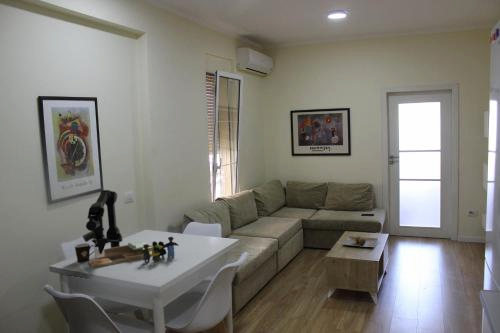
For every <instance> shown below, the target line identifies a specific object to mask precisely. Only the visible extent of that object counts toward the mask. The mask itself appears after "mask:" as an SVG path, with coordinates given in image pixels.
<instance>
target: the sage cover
mask: <svg viewBox="0 0 500 333" xmlns="http://www.w3.org/2000/svg"><path fill="white" fill-rule="evenodd" d="M136 243H137V244H135V243H133V242H130V241H129V242H127V245H128V246H129V247H130V248H132V249H134V250H136V249H141V248H143V249H144V247H143V245H145V244H148V245H149V247H148V248H151V247H153V245H152V244H150V243H148V242H146V241H143V242H142V243H141V242H136Z"/></svg>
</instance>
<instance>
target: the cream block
mask: <svg viewBox="0 0 500 333" xmlns="http://www.w3.org/2000/svg"><path fill="white" fill-rule="evenodd" d="M93 247H94V248H93V251H94V257H95V259H98V258H100V257H105V252H104V249H105V248H104V249H103V252H102V254H100V253H99V249H98V247H95V246H93Z"/></svg>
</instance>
